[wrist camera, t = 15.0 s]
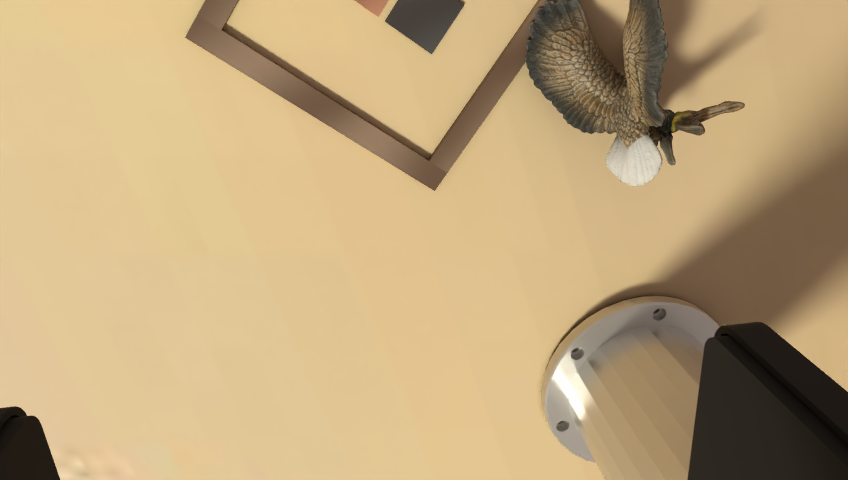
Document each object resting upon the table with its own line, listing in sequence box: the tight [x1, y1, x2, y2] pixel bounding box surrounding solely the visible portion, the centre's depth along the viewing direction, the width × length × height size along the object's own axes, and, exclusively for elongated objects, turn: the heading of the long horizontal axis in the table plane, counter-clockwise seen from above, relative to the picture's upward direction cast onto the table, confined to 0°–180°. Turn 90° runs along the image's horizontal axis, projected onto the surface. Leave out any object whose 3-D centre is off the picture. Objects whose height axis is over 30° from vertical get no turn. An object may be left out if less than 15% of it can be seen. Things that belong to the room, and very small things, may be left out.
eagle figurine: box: [525, 0, 745, 187], centre depth 32 cm, size 8×7×9 cm
